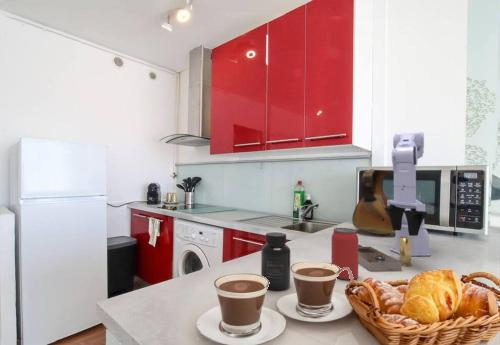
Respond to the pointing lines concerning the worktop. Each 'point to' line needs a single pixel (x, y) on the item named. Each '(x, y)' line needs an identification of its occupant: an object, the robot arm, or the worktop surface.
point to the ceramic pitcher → (373, 205)
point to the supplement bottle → (276, 261)
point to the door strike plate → (377, 260)
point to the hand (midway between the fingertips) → (404, 232)
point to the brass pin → (405, 251)
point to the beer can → (345, 251)
